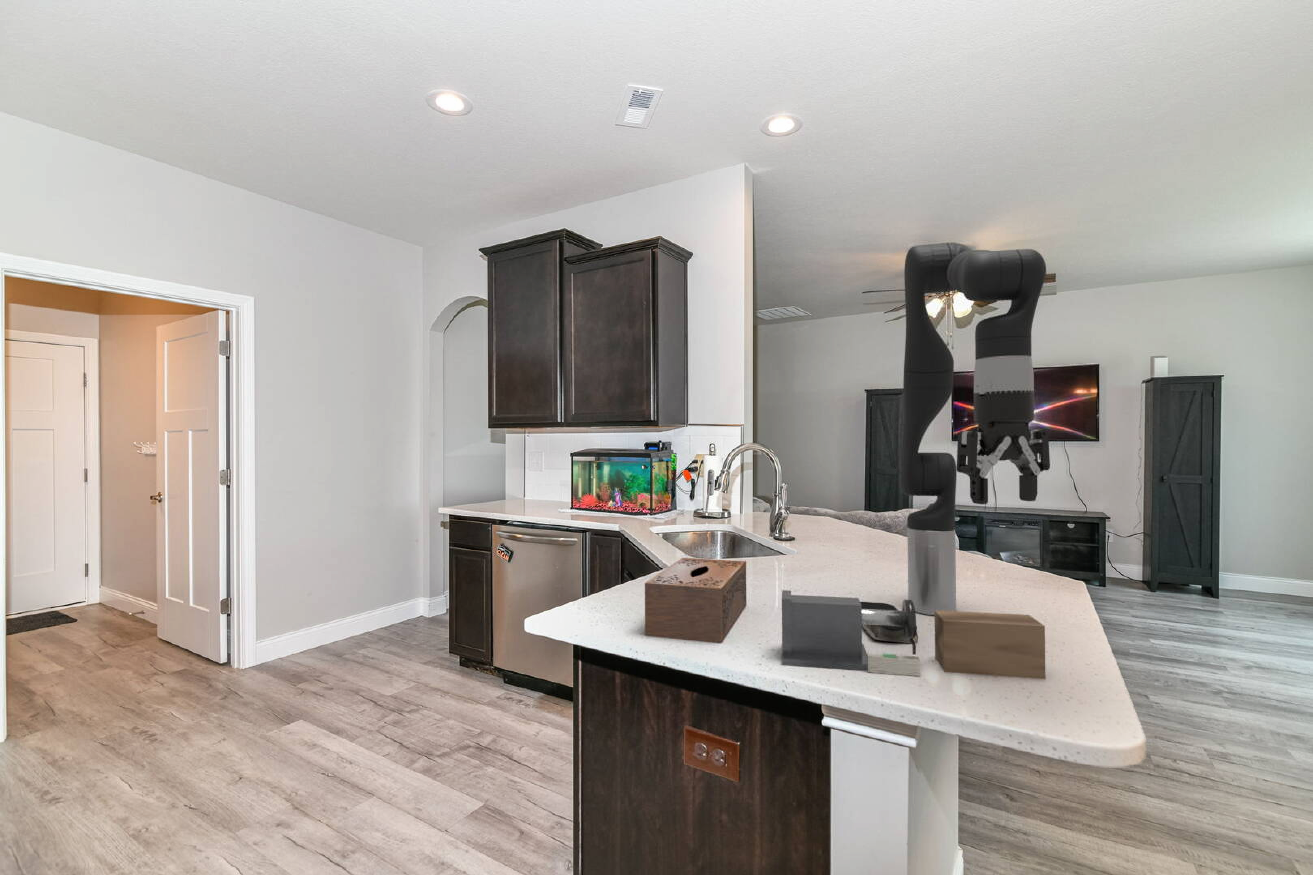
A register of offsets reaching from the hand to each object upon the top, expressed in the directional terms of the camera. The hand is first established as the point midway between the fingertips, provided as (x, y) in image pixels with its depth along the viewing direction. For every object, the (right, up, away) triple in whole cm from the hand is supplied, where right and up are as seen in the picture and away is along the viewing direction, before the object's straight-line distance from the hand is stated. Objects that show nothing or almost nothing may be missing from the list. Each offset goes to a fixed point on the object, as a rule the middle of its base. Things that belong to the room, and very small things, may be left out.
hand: (1003, 502), depth 87 cm
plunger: (-16, -24, +10) cm, 30 cm away
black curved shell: (-7, -28, +27) cm, 39 cm away
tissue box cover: (-41, -28, +34) cm, 61 cm away
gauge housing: (-19, -27, +12) cm, 35 cm away
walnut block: (+2, -27, +7) cm, 28 cm away
